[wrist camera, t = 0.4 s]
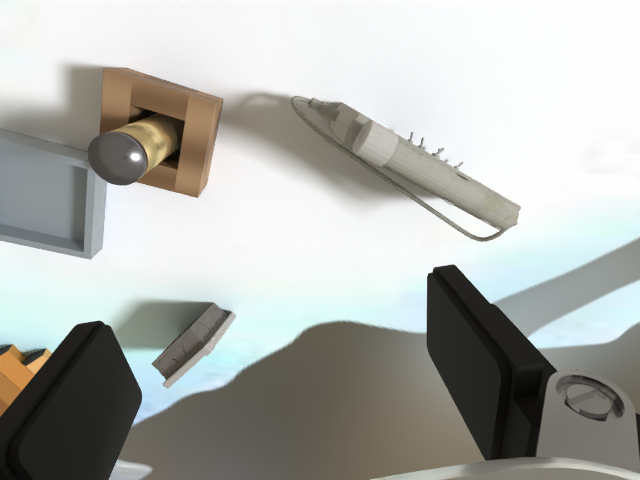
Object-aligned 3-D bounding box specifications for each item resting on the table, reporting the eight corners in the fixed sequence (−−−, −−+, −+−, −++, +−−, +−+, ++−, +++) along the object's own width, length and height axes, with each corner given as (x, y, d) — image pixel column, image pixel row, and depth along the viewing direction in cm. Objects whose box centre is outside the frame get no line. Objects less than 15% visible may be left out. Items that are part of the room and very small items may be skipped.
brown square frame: (126, 67, 37) (103, 68, 32) (223, 99, 39) (215, 103, 34) (118, 160, 41) (97, 171, 36) (206, 184, 43) (197, 197, 38)
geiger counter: (552, 211, 33) (313, 67, 26) (507, 265, 35) (275, 146, 28) (478, 171, 45) (303, 67, 38) (448, 213, 47) (278, 122, 40)
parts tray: (-12, 125, 38) (-35, 129, 35) (108, 157, 40) (96, 164, 38) (-6, 224, 43) (-25, 235, 40) (102, 247, 45) (90, 259, 42)
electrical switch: (198, 349, 54) (176, 398, 45) (170, 330, 52) (142, 376, 44) (238, 312, 52) (224, 356, 43) (210, 290, 50) (189, 331, 41)
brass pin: (152, 106, 38) (89, 126, 26) (190, 117, 39) (146, 142, 27) (148, 142, 40) (86, 177, 28) (185, 152, 41) (140, 191, 28)
